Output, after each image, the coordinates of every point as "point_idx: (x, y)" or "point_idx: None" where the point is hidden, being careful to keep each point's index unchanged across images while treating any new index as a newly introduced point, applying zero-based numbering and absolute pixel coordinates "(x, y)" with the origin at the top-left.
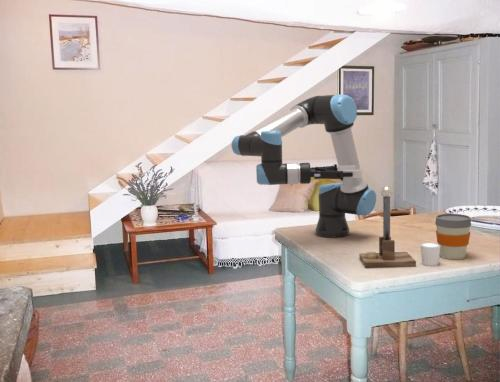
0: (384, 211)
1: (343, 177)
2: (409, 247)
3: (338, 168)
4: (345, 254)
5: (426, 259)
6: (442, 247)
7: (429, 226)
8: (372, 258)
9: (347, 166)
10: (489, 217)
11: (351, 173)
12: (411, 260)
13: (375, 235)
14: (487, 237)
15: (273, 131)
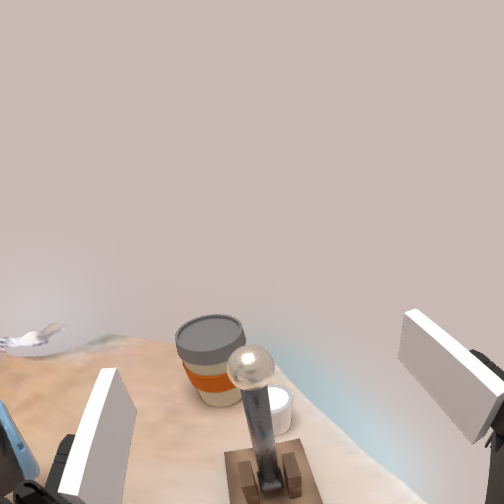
0: (268, 425)
1: (486, 429)
2: (152, 444)
3: (92, 500)
4: None
5: (289, 421)
6: (232, 391)
7: (42, 384)
8: None
9: (102, 417)
10: (49, 325)
11: (479, 358)
12: (295, 445)
13: (46, 474)
14: (130, 343)
15: None
